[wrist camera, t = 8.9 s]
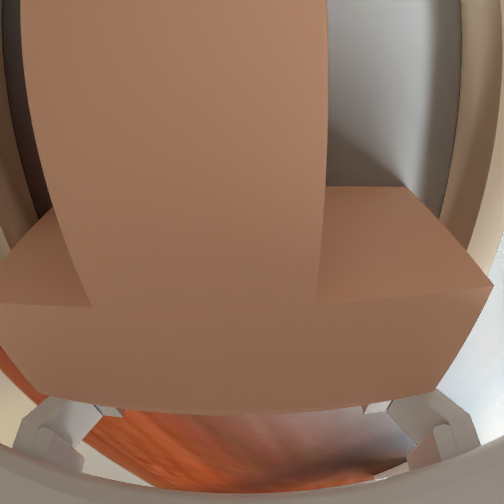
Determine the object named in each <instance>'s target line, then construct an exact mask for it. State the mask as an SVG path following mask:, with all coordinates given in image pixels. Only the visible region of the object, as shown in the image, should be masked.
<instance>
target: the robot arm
mask: <svg viewBox="0 0 504 504" xmlns="http://www.w3.org/2000/svg"><path fill="white" fill-rule="evenodd" d="M362 409H363V413H364V414H368V413H375V412H382V411H386V412H387V413H388V414H389V415H390V417H391V418H392V419H393V420H394V421H395V422H396V423H397V424H398V425H399V426H400V427H401V428H402V429H403V430H404V431H405V432H406V433H407V434H408V436H409V437H410V438H411V439H412V440H413V441H414V442H415V443H416V444H417V446H416V447H415V448H414V449H413V450H412V451H411V452H410V453H409V454H408V455H407V457H406V458H407V463H408V467H409V471H407V472H404V473H400V474H396V475H392V476H388V477H384V478H380V479H375V480H370V481H366V482H361V483H355V484H350V485H344V486H337V487H331V488H323V489H315V490H306V491H295V492H281V493H259V494H226V493H204V492H190V491H179V490H170V489H162V488H155V487H148V486H141V485H136V484H130V483H125V482H120V481H115V480H110V479H106V478H102V477H97V476H93V475H89V474H86V473H82V468H83V464H84V458H83V456H82V455H81V454H80V453H78V452H77V451H76V450H75V449H74V448H75V447H76V446H77V445H78V444H79V442H80V441H81V440H82V439H83V438H84V437H85V436H86V435H87V433H88V432H89V431H90V430H91V429H92V428H93V427H94V425H95V424H96V423H97V422H98V421H99V420H100V419H101V417H102V415H107V416H115V417H123V415H124V410H125V409H122V408H114V407H107V406H100V405H94V404H88V403H82V402H77V401H72V400H68V399H63V398H58V397H54V396H49V397H48V398H47V399H45V400H44V401H43V402H42V403H41V404H40V405H38V406H37V407H36V408H35V409H34V410H33V411H31V412H30V413H29V414H28V415H27V416H26V417H24V418H23V419H22V421H21V424H20V427H19V429H18V432H17V435H16V438H15V441H14V444H13V447H12V448H10V447H7V446H5V445H3V444H1V443H0V504H504V435H503V436H501V437H499V438H497V439H495V440H493V441H490V442H488V443H486V444H484V445H480V442H479V439H478V436H477V433H476V430H475V427H474V425H473V422H472V419H471V417H470V414H468V413H467V412H466V411H464V410H463V409H462V408H461V407H459V406H458V405H457V404H456V403H454V402H453V401H452V400H451V399H449V398H448V397H447V396H445V395H444V394H443V393H442V392H440V391H439V390H438V389H437V388H435V389H434V391H432V392H428V393H423V394H419V395H415V396H410V397H405V398H400V399H395V400H390V401H385V402H379V403H373V404H367V405H362Z"/></svg>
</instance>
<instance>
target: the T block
mask: <svg viewBox="0 0 504 504" xmlns="http://www.w3.org/2000/svg"><path fill="white" fill-rule="evenodd" d="M20 20H21V42H22V55H23V66H24V75H25V83H26V90H27V97H28V103H29V109H30V115H31V120H32V126H33V131H34V135H35V140H36V145H37V149H38V153H39V157H40V161H41V165H42V169H43V173H44V177H45V180H46V184H47V188H48V191H49V194H50V198H51V201H52V204H53V207H52V208H51V209H50V210H49V211H48V212H47V213H46V214H45V215H44V216H43V217H42V218H41V219H40V220H39V221H38V222H37V223H36V224H35V225H34V226H33V227H32V228H31V229H30V230H29V231H28V232H27V233H26V234H25V235H24V236H23V237H22V239H21V240H20V241H19V242H18V243H17V244H16V245H15V246H14V247H13V248H12V250H11V251H10V252H9V253H8V254H7V255H6V256H5V258H4V259H3V260H2V261H1V262H0V345H1V347H2V348H3V350H4V351H5V352H6V354H7V355H8V356H9V358H10V359H11V360H12V362H13V363H14V364H15V365H16V367H17V368H18V369H19V370H20V372H21V373H22V374H23V375H24V377H25V378H26V379H27V380H28V381H29V382H30V384H31V385H32V386H33V387H34V388H35V389H36V391H37V392H38V393H39V394H44V395H48V396H54V397H58V398H63V399H68V400H72V401H77V402H82V403H88V404H94V405H100V406H107V407H114V408H122V409H130V410H139V411H149V412H160V413H174V414H192V415H268V414H286V413H300V412H312V411H322V410H331V409H339V408H347V407H354V406H361V405H367V404H373V403H379V402H385V401H390V400H395V399H400V398H405V397H410V396H415V395H419V394H423V393H428V392H432V391H434V389H435V388H436V386H437V385H438V384H439V382H440V381H441V379H442V378H443V376H444V375H445V373H446V372H447V370H448V368H449V367H450V365H451V364H452V362H453V361H454V359H455V357H456V356H457V354H458V352H459V351H460V349H461V347H462V346H463V344H464V342H465V341H466V339H467V337H468V335H469V334H470V332H471V330H472V328H473V326H474V324H475V323H476V321H477V319H478V317H479V315H480V313H481V311H482V309H483V307H484V305H485V303H486V301H487V299H488V297H489V295H490V293H491V291H492V288H493V286H494V285H493V284H492V283H491V281H490V280H489V279H488V277H487V276H486V275H485V273H484V272H483V271H482V270H481V268H480V267H479V266H478V265H477V263H476V262H475V261H474V260H473V258H472V257H471V256H470V255H469V254H468V252H467V251H466V250H465V249H464V248H463V246H462V245H461V244H460V243H459V242H458V241H457V239H456V238H455V237H454V236H453V235H452V234H451V233H450V232H449V230H448V229H447V228H446V227H445V226H444V225H443V224H442V223H441V222H440V221H439V219H438V218H437V217H436V216H435V215H434V214H433V213H432V212H431V211H430V210H429V209H428V208H427V207H426V206H425V205H424V204H423V203H422V202H421V201H420V200H419V199H418V198H417V197H416V196H415V195H414V194H413V193H412V192H411V191H410V190H409V189H408V188H407V187H391V186H325V182H326V162H327V137H328V23H327V0H20Z"/></svg>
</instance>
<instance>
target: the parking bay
mask: <svg viewBox="0 0 504 504" xmlns="http://www.w3.org/2000/svg"><path fill="white" fill-rule="evenodd" d="M460 2H461V21H462V66H461V86H460V99H459V110H458V119H457V127H456V135H455V142H454V149H453V155H452V161H451V167H450V172H449V177H448V182H447V187H446V192H445V197H444V201H443V205H442V210H441V214H440V218H439V221H440V222H441V223H442V224H443V225H444V226H445V227H446V228H447V229H448V230H449V232H450V233H451V234H452V235H453V236H454V237H455V238H456V239H457V241H458V242H459V243H460V244H461V245H462V246H463V248H464V249H465V250H466V251H467V252H468V254H469V255H470V256H471V257H472V258H473V260H474V261H475V262H476V263H477V265H478V266H479V267H480V268H481V270H482V271H483V272H484V273H485V275H486V276H487V274H488V272H489V269H490V267H491V265H492V262H493V260H494V257H495V254H496V252H497V249H498V246H499V244H500V241H501V238H502V235H503V232H504V0H460ZM38 221H39V219H38V217H37V214H36V211H35V208H34V205H33V201H32V198H31V195H30V192H29V188H28V185H27V182H26V178H25V175H24V171H23V167H22V163H21V159H20V155H19V151H18V147H17V143H16V138H15V133H14V129H13V124H12V118H11V113H10V107H9V101H8V94H7V87H6V79H5V70H4V59H3V45H2V0H0V262H1V261H2V260H3V259H4V258H5V256H6V255H7V254H8V253H9V252H10V251H11V250H12V248H13V247H14V246H15V245H16V244H17V243H18V242H19V241H20V240H21V239H22V237H23V236H24V235H25V234H26V233H27V232H28V231H29V230H30V229H31V228H32V227H33V226H34V225H35V224H36V223H37V222H38Z"/></svg>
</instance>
